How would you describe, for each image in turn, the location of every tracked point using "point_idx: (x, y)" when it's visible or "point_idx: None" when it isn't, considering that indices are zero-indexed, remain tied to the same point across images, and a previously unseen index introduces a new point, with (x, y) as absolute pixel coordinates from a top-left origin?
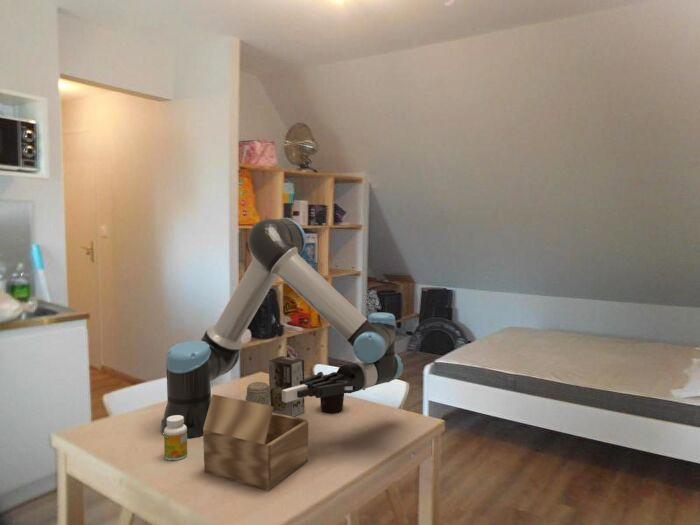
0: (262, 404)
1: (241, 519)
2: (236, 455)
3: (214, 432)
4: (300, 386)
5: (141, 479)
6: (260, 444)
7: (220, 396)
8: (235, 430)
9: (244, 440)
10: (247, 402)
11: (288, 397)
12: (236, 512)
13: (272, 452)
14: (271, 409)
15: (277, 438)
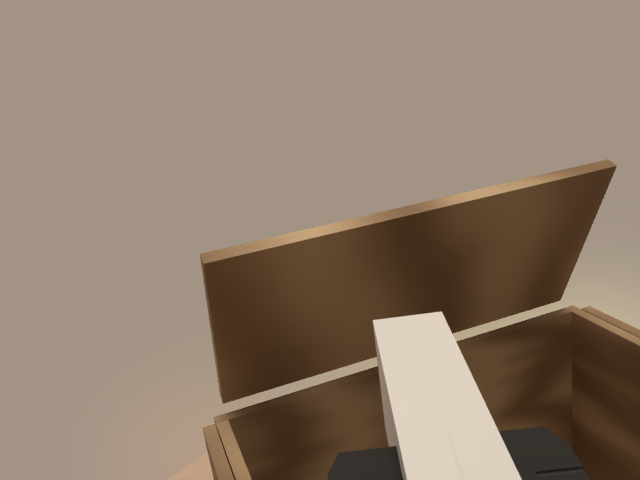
0: (276, 237)
1: (179, 472)
2: None
3: (522, 323)
4: (449, 466)
5: None
6: (257, 404)
7: (560, 173)
8: None
9: (352, 374)
10: (382, 216)
11: (383, 405)
12: None
13: (213, 473)
14: (203, 268)
15: (244, 475)
